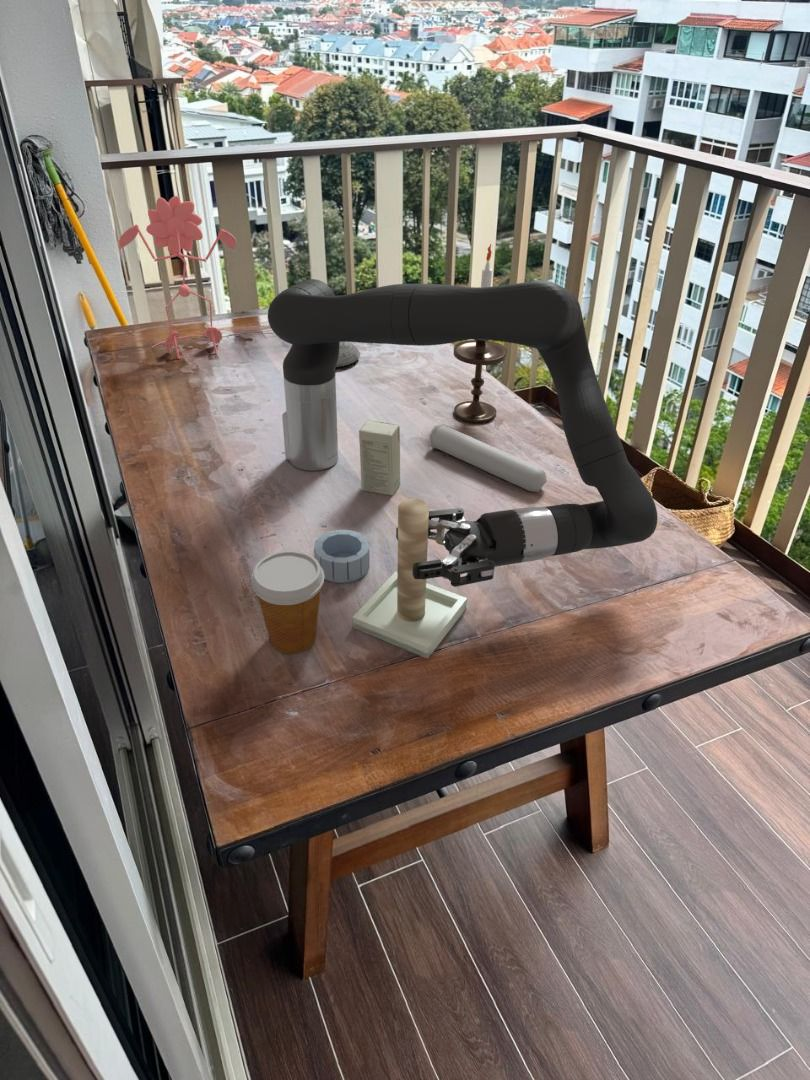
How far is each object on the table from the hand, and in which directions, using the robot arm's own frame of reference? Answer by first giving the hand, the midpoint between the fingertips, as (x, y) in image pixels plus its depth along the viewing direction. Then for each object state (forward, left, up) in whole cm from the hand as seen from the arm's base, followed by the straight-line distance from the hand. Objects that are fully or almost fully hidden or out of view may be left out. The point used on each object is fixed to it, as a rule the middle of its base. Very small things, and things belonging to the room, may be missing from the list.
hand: (404, 552), depth 101 cm
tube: (-7, +45, -12) cm, 48 cm away
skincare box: (-21, +29, -12) cm, 38 cm away
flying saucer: (-62, +73, -13) cm, 97 cm away
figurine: (-95, +61, -12) cm, 114 cm away
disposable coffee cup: (-11, -11, -12) cm, 20 cm away
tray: (+1, +1, -12) cm, 12 cm away
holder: (-14, +6, -12) cm, 20 cm away
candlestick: (-19, +65, -12) cm, 69 cm away
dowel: (+1, +1, -11) cm, 11 cm away
